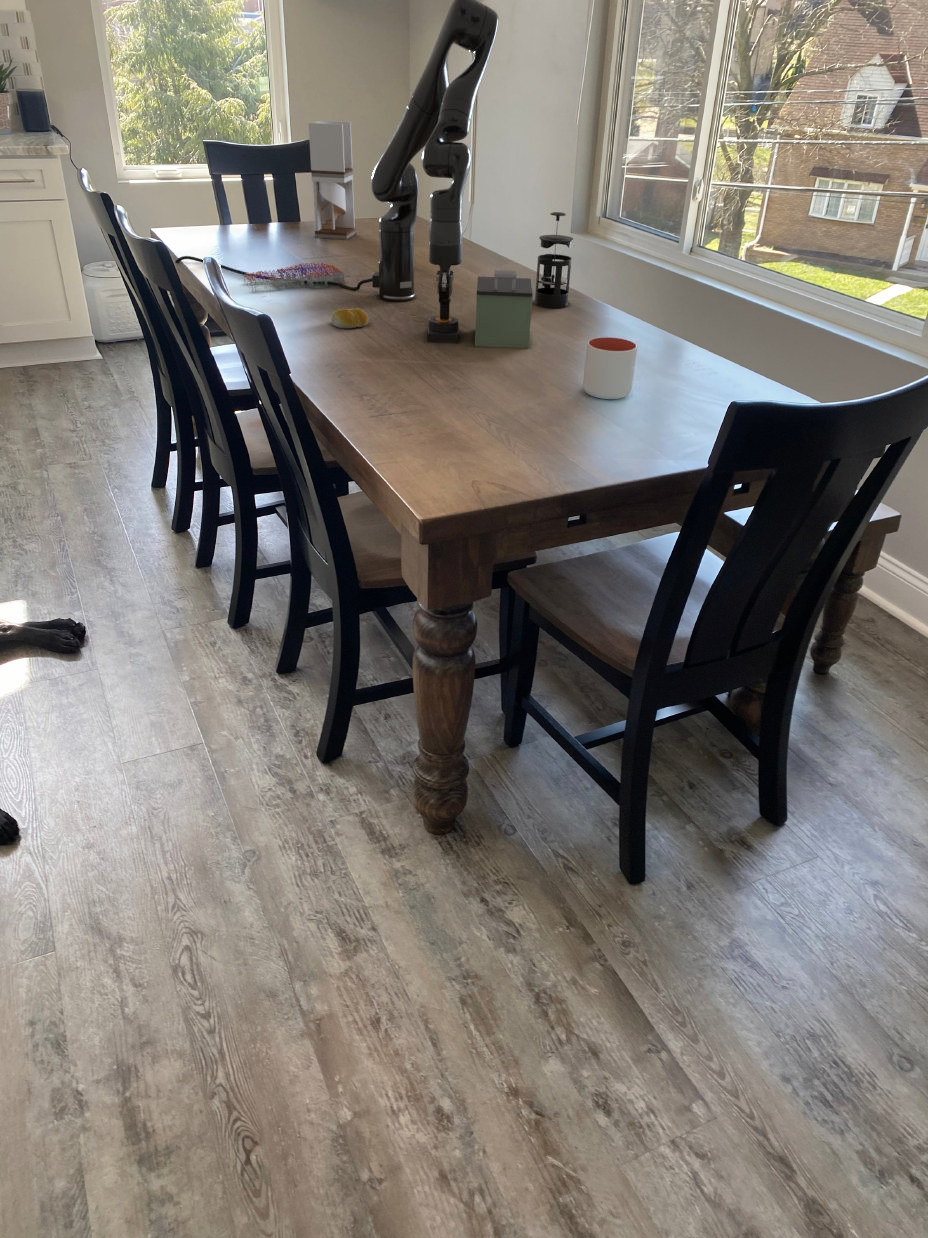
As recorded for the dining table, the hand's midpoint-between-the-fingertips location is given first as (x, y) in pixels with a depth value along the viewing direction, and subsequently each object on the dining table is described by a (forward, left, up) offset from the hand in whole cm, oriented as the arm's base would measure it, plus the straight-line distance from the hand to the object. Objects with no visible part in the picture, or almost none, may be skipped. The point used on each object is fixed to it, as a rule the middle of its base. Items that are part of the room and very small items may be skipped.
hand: (444, 318), depth 211 cm
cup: (+35, -36, -4) cm, 51 cm away
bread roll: (-24, +7, -4) cm, 25 cm away
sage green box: (+14, 0, -4) cm, 14 cm away
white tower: (-45, +120, -4) cm, 128 cm away
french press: (+27, +36, -4) cm, 45 cm away
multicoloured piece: (-45, +46, -4) cm, 64 cm away
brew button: (0, 0, -2) cm, 2 cm away
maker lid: (+14, 0, +8) cm, 16 cm away
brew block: (0, 0, -4) cm, 4 cm away
